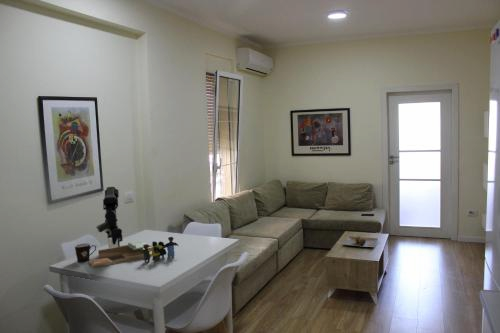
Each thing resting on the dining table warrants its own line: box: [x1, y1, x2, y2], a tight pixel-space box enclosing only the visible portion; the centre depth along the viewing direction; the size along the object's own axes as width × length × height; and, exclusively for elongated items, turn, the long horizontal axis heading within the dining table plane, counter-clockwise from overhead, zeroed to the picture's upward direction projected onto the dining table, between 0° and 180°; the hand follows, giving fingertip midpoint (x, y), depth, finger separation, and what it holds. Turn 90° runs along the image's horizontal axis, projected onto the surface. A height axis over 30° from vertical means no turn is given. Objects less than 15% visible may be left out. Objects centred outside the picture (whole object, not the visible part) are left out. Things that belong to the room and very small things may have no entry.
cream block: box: [107, 237, 118, 249], centre depth 248 cm, size 4×4×6 cm
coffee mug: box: [74, 242, 97, 263], centre depth 252 cm, size 12×9×10 cm
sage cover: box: [127, 241, 153, 250], centre depth 258 cm, size 10×11×2 cm
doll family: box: [140, 236, 179, 264], centre depth 249 cm, size 23×9×13 cm, turn 139°
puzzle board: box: [88, 242, 153, 269], centre depth 251 cm, size 13×34×7 cm, turn 124°
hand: (112, 243), depth 248 cm, fingers closed on cream block, 4 cm apart
